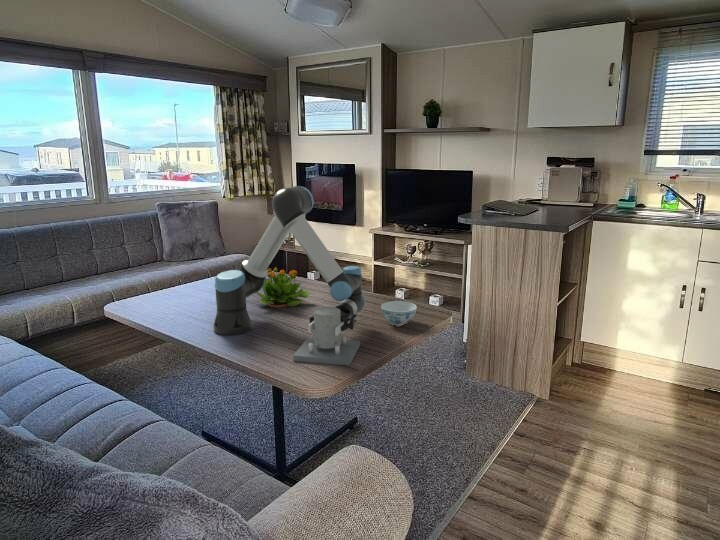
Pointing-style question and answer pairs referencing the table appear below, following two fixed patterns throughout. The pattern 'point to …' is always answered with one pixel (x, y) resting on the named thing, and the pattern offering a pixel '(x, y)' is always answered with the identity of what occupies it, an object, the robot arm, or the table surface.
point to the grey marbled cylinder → (326, 327)
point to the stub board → (327, 352)
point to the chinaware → (398, 311)
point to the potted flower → (281, 289)
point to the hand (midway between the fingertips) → (322, 330)
